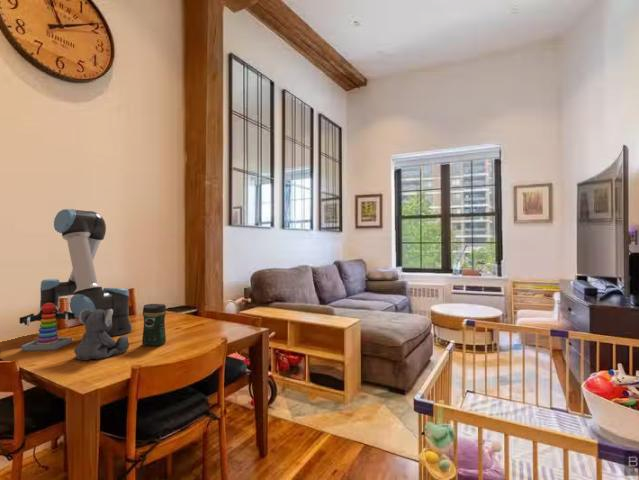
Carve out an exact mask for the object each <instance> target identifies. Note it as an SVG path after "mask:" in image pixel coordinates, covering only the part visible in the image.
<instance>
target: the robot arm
mask: <svg viewBox="0 0 639 480" xmlns="http://www.w3.org/2000/svg"><path fill="white" fill-rule="evenodd" d="M106 225H107V224H106V221H105V220H104V218H103V216H102V215H101V214H99V213H97V212H96V211H94V210H93V211H91V210H82V209H81V210H80V209H74V208H70V209H69V208H65V209H61V210H60V211H58V212H57V213H56V215H55V217H54V220H53V227H54V230H55V231H56V232H57V233H60V234H61V237H62V239H63V240H65V241H66V243H67V247H68V252H69V257H70V261H71V267H72V270H71V272H70V276H69V278H68V280H67V281H60V279H58V278H49V279H48V278H47V279H46V278H45V279H43V280H41V282H40V287H39V290H40V301H39V312H38V313H37V314H34V313H30V314H27V315H24V316H21V317H19V324H24V326H26V327H30V324H31V323H33V322H40V321H41V319H43V318H42V317H41V316H42V315H43V314H45V313H43V312H42V306H43V305H44V304H46V303H53V304H55V306H56V309H55V311H54V312H53V313H55V314H56V316H55V317H54V318H55V319H56V320H59V319H60V320H65V323H69V320H71V319H72V320H73V319H74V320H75V319H76V318H78V319H79V316H80V312H81V311H83V310H85V309H89V310H91V311H95V310H97V309H102V310H105V311H106V310H108V309H109V310H110V309H113V315H112V328H111V329H110V331H109V332H108V333H107V334H108V335H109V336H110V337H114V336H124V335H126V334H129V333H131V332H132V331H133V326H132V323H131V320H130V317H129V309H130V307H129V305H130V304H129V303H130V291H129V290H128V289H127V288H124V287H123V288H119V287H104V288H103V287H102V285H100V284H98V280H97V276H96V271H95V267H94V259H95V256H96V254H97V251H98V248H99V245H100V243H101V241H103V240H104V239H105V236H106V232H107V226H106ZM68 296H72V297H70V302H69V308H70V310H71V311H67V310H63V311H62V312H60V311H59V309H60V307H59V306H60V305H59V302H60V297H68Z"/></svg>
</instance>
